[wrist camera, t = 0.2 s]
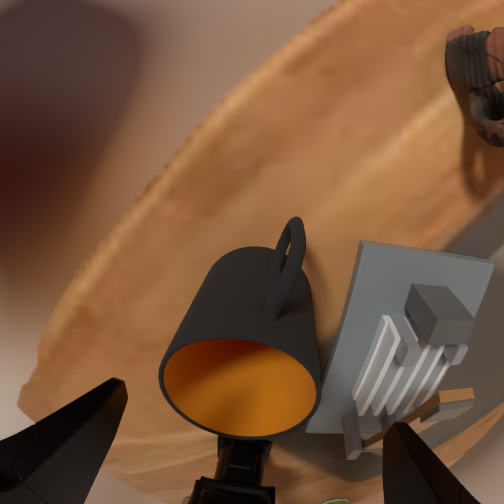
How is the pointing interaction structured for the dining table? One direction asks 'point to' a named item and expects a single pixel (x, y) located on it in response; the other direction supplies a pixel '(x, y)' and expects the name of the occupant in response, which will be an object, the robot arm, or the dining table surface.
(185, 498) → the lamp
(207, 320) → the mug
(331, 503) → the supplement bottle
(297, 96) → the dining table surface
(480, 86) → the vr controller
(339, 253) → the dining table surface
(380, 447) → the strap
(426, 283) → the board
